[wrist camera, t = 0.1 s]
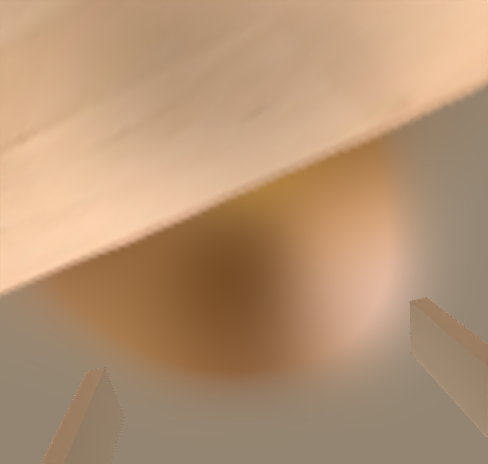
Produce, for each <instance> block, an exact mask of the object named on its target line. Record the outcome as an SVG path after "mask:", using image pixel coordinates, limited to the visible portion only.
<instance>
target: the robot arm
mask: <svg viewBox="0 0 488 464" xmlns="http://www.w3.org/2000/svg"><path fill="white" fill-rule="evenodd" d="M410 339H411V340H410V342H411V343H410V344H411V354H412V355H413V356H414V358H415V359H416V360H417V361H418V362H419V363H420V364H421V365H422V366H423V368H424V369H425V370H427V372H428V373H429V374H430V375H431V376H432V377H433V379H434V380H435V381H436V382H437V383H438V384H439V385H440V386H441V387H442V388H443V390H444V391H445V392H446V393H447V394H448V395H449V396H450V397H451V398H452V400H453V401H454V402H455V403H456V404H457V405H458V406H459V407H460V408H461V409H462V411H463V412H464V413H465V414H466V415H467V416H468V417H469V418H470V419H471V421H472V422H473V423H474V424H475V425H476V426H477V427H478V428H479V429H480V430H481V432H482V433H483V434H484V435H485V436H486V437H487V438H488V344H486V343H485V342H484V341H483V340H481V339H480V338H479V337H478V336H476V335H475V334H474V333H472V332H471V331H470V330H468V329H467V328H466V327H465V326H463V325H462V324H461V323H459V322H458V321H457V320H455V319H454V318H453V317H452V316H450V315H449V314H448V313H446V312H445V311H444V310H443V309H441V308H440V307H439V306H437V305H436V304H435V303H433V302H432V301H431V300H430V299H428V298H427V297H426V298H422V299H417V300H412V301H410ZM124 419H125V417H124V414H123V412H122V409H121V406H120V404H119V401H118V399H117V396H116V394H115V391H114V388H113V386H112V383H111V381H110V378H109V375H108V373H107V370H106V368H100V369H95V370H91V371H87V372H86V374H85V376H84V378H83V380H82V382H81V384H80V386H79V388H78V390H77V392H76V394H75V396H74V398H73V400H72V402H71V404H70V406H69V409H68V410H67V412H66V414H65V416H64V418H63V420H62V422H61V424H60V426H59V428H58V430H57V432H56V434H55V436H54V438H53V440H52V442H51V444H50V446H49V448H48V450H47V452H46V454H45V456H44V458H43V461H42V462H41V464H112V460H113V457H114V453H115V450H116V447H117V443H118V440H119V436H120V433H121V429H122V426H123V422H124Z"/></svg>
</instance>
